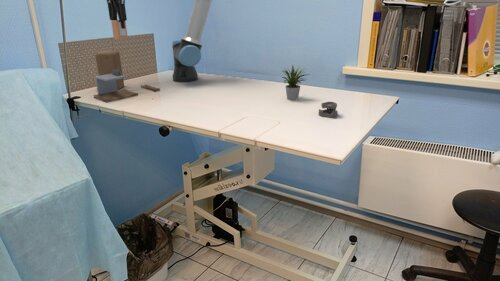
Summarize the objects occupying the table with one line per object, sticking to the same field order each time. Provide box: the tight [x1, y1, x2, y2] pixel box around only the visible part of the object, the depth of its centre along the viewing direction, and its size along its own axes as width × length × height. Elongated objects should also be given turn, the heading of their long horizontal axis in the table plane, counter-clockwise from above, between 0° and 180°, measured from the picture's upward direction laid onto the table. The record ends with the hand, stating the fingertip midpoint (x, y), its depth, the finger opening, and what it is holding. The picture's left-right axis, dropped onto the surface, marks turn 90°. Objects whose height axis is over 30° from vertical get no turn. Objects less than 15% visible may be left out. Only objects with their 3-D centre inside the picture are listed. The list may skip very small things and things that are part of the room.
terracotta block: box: [110, 19, 129, 40], centre depth 184 cm, size 5×5×9 cm
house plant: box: [281, 64, 310, 101], centre depth 169 cm, size 14×14×16 cm
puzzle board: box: [93, 84, 161, 103], centre depth 188 cm, size 30×14×1 cm, turn 136°
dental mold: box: [317, 101, 339, 119], centre depth 149 cm, size 8×7×5 cm
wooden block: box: [94, 50, 125, 90], centre depth 197 cm, size 10×10×20 cm
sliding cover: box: [94, 69, 126, 95], centre depth 180 cm, size 10×12×12 cm
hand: (120, 34), depth 185 cm, fingers closed on terracotta block, 5 cm apart
